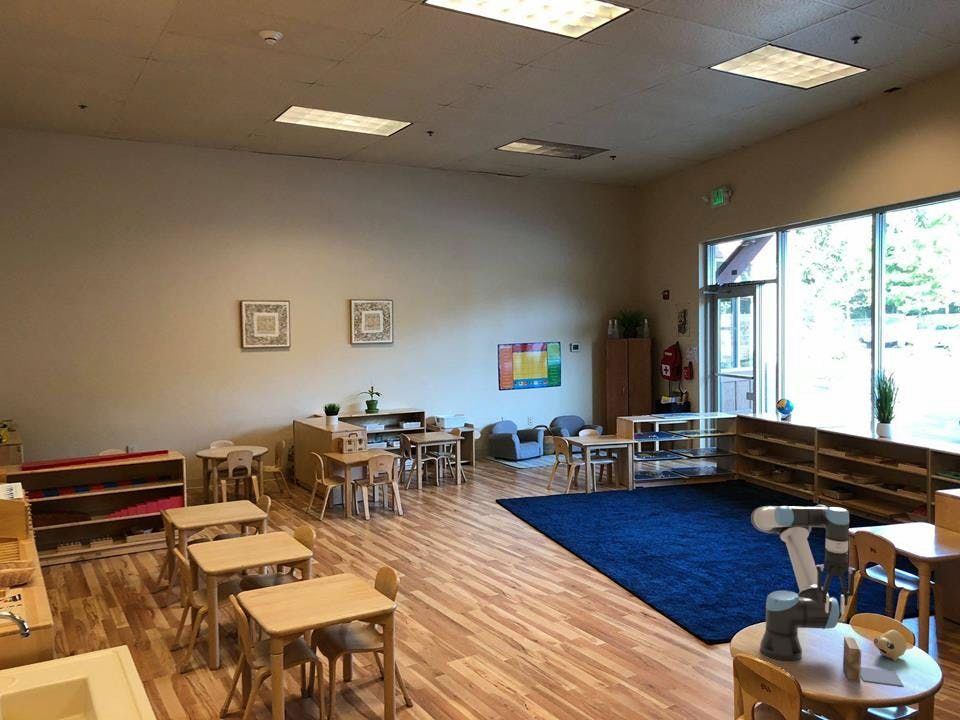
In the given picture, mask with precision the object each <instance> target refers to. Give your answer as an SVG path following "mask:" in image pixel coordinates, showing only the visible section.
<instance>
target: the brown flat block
mask: <svg viewBox="0 0 960 720" xmlns="http://www.w3.org/2000/svg"><path fill="white" fill-rule="evenodd" d="M843 639H844V640H843V655H842V656H843V658H842V667H843V671H844V674H845V676H846V678H847V680H848V681H849V682H856V683H858V682H859V681H861V680H862V678H861V667H862V652H863V651H862V648H861V647H860V644H859V643H858V641H857V639H855V638H854V637H848V636H844V637H843Z"/></svg>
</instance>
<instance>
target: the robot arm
mask: <svg viewBox="0 0 960 720" xmlns="http://www.w3.org/2000/svg"><path fill="white" fill-rule="evenodd" d="M750 520H751V525H753V527H754V528H755V529H756V530H758V531H760V532H763V533H766V534H776V535H777V534H778V535H779V538H780V540H781V541H783V542H784V543H785V545H786V548H787V551H788V555H789V559H790V561H791V566H792V569H793V572H794V576H795V579H796V583H797V587H798V589H799V592H798V593H796V592H794V591H791V590H776V591H772V592H770V593H768V595H767V597H766V604H765V631H764V633H763V636H762V638H761V641H760V646H759V649H760V652H761V653H762V652H763V655H765V656H767V657H769V658H771V659H775V660H778V661H779V660H780V661H786V662H787V661H788V662H791V661H792V662H793V661H798V660H800V659H801V658H802V656H803V650H802V646H801V642H800V639H799V635H798V634H799V628H801V629H820V630H821V629H823V630H826V629H834V628H836V626H837V625H838V622H839V620H840V614H841V615H842V616H844V615H845V606H848V603H849V602H848V601H849V597H854V594H855V593H854V591H855V576H856V574H857V570H856V568H855V567H852V566H851V567H850V565H849V564H848V563H849V562H848V561H849V558H848V557H849V553H848V551H849V535H850V533H849V532H850V512H849V510H847V509H846V508H843V507H838V506H837V507H836V506H830V507H829V506H828V505H826V504H825V505H824V504H817V505H815V506H795V505H792V506H790V505H789V506H788V505H781V506H779V505H765V506H759V507H757V508H755V509H754V510H752V513H751V516H750ZM812 528H824V529H825V543H824V545H825V546H824V547H825V551H824V562H823V563H822V564H819V563H818V564H816V563H815V559H814V557H813V554H812V550H811V548H810V543H809V541H808V537H809V535H810V533H811V532H812ZM824 569H825V570H826V572H827V573H826V577H825V581H824V585H823V584H822V583H823V582H822V581H823V571H824ZM847 572H848V573H849V575H848V576H849V577H848V578H849V579H848V588H847V585H846V579H845V576H844V575H845V574H846V573H847ZM833 576H834V577H835V576H837V577H839V580H840V585H841V589H842V593H843V594H840V606H839V602H838V600H837V598H836V597H834V596H830V593H829V592H828V591H829V588H830V585H831V581H832V579H833ZM847 589H848V590H847Z"/></svg>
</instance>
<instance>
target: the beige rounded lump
mask: <svg viewBox="0 0 960 720" xmlns="http://www.w3.org/2000/svg"><path fill="white" fill-rule="evenodd" d="M873 645H874V646H875V648H877V650H878V651H879V654H880V656H884V657H886V658H890V659H892V660H893V661H897V660H898V658H900V657H901V656H904V654H905V653H906V651H907V641H906V639H905V638H904V636H903V634H901V633H900V632H899V631H897V630H895V629H889V630H888V631H886V632H883V634H881V635H880V636H879V637H874V640H873Z"/></svg>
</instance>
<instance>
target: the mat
mask: <svg viewBox="0 0 960 720" xmlns="http://www.w3.org/2000/svg"><path fill="white" fill-rule="evenodd" d="M861 680H862V682H867V683H875V684H880V685H881V684H882V685H890V686H897V687H904V684H903V682H902V681H901V678H899V675H898V673H897V671H895V670H886V669H878V668H872V667H871V668H870V667H864V666H861Z"/></svg>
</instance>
